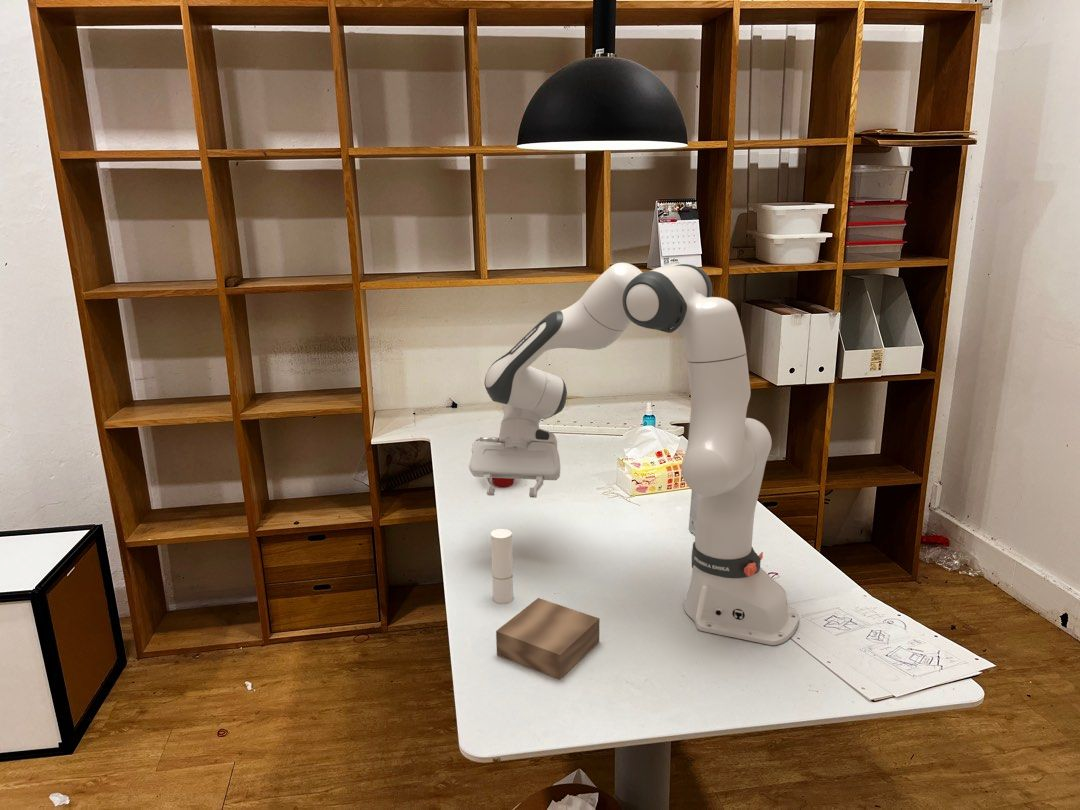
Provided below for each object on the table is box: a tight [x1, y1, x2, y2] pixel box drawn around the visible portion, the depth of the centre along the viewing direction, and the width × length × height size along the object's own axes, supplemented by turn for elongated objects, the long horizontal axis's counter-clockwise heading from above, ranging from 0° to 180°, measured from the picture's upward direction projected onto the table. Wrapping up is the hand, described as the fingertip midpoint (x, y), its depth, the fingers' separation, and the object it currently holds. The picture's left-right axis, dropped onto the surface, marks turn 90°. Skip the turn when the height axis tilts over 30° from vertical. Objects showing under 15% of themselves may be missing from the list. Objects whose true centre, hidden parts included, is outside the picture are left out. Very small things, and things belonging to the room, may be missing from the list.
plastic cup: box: [491, 478, 515, 489], centre depth 228 cm, size 11×11×12 cm
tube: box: [490, 528, 514, 604], centre depth 167 cm, size 4×4×15 cm
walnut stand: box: [495, 597, 601, 680], centre depth 151 cm, size 14×14×5 cm
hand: (511, 495), depth 175 cm, fingers open, 8 cm apart
